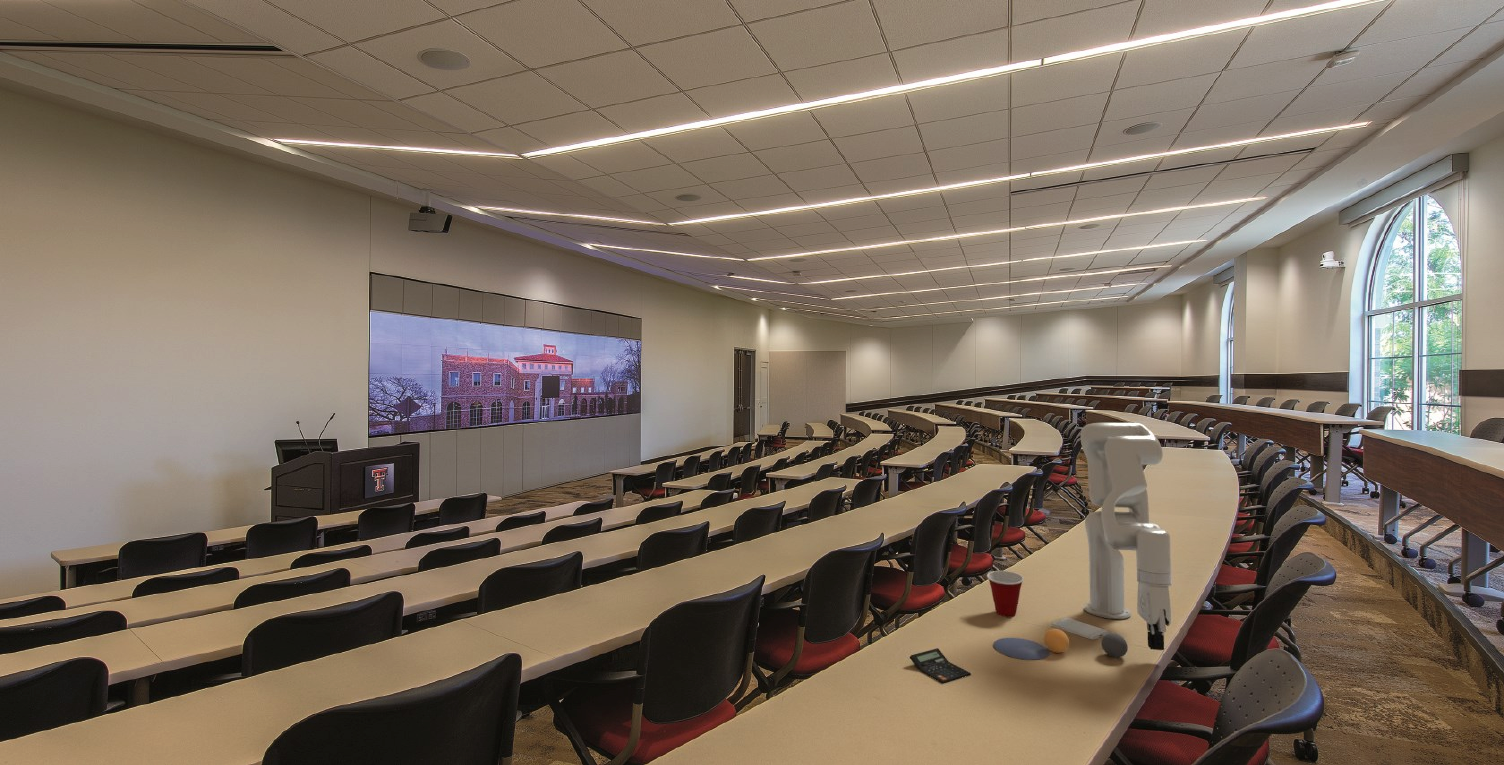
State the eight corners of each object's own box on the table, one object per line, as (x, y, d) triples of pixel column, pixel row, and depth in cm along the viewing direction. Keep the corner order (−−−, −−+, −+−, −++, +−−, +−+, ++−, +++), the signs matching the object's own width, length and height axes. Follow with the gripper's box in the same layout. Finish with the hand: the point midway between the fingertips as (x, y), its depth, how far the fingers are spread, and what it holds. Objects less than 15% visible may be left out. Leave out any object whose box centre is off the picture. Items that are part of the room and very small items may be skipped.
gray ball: (1098, 651, 167) (1098, 628, 167) (1123, 653, 165) (1123, 630, 166) (1105, 660, 161) (1105, 637, 161) (1131, 662, 160) (1130, 639, 160)
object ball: (1042, 646, 170) (1042, 624, 170) (1066, 648, 169) (1065, 626, 169) (1047, 655, 165) (1046, 632, 165) (1071, 657, 163) (1071, 634, 163)
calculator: (942, 685, 150) (942, 672, 150) (909, 666, 160) (909, 654, 160) (970, 676, 154) (970, 664, 154) (936, 658, 164) (936, 647, 164)
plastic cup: (987, 617, 192) (986, 578, 192) (987, 606, 202) (987, 569, 202) (1025, 622, 188) (1024, 582, 188) (1024, 610, 198) (1023, 572, 198)
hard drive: (1051, 623, 185) (1093, 636, 174) (1067, 617, 189) (1108, 630, 179) (1051, 628, 185) (1093, 642, 174) (1067, 622, 189) (1108, 635, 179)
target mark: (990, 636, 177) (990, 635, 177) (1043, 640, 174) (1043, 640, 174) (996, 657, 164) (996, 656, 164) (1054, 662, 160) (1054, 661, 160)
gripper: (1128, 568, 169) (1129, 636, 169) (1148, 584, 155) (1150, 659, 154) (1159, 570, 167) (1161, 639, 167) (1182, 586, 153) (1184, 661, 152)
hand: (1156, 648), depth 160 cm, fingers closed
